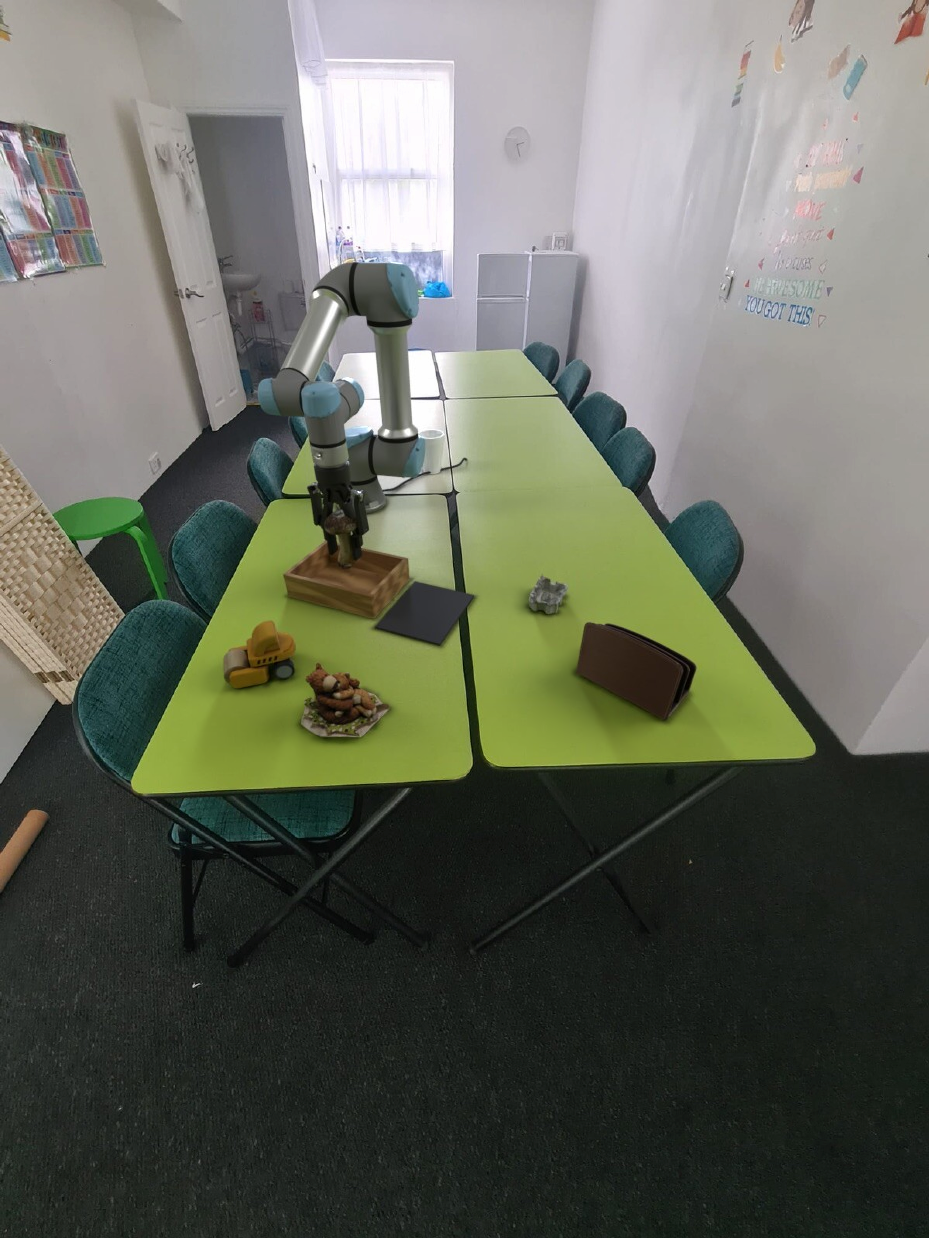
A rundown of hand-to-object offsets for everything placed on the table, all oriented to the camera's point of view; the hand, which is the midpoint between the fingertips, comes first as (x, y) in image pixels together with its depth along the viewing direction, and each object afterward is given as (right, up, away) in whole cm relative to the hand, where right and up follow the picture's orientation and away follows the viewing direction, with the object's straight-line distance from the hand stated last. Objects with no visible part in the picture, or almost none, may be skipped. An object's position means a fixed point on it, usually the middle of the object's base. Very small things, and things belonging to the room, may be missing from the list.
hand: (345, 554), depth 133 cm
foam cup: (+17, +37, +65) cm, 76 cm away
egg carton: (+48, -11, 0) cm, 50 cm away
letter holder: (+61, -28, -22) cm, 71 cm away
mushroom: (0, -3, +2) cm, 4 cm away
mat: (+19, -14, -3) cm, 24 cm away
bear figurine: (+6, -33, -29) cm, 44 cm away
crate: (0, -8, +5) cm, 9 cm away
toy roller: (-13, -26, -19) cm, 35 cm away
